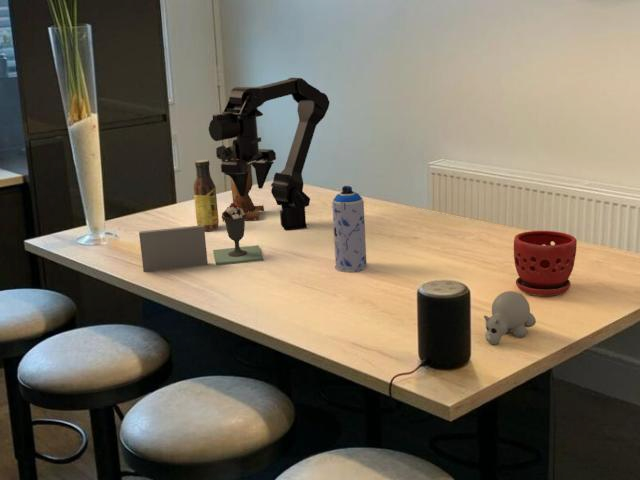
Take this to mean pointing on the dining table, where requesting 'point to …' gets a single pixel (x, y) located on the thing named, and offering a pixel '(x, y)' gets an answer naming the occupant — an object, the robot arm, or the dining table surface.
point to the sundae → (235, 226)
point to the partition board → (173, 248)
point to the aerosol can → (349, 231)
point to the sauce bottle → (205, 197)
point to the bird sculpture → (246, 199)
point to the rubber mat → (252, 255)
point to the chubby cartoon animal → (508, 317)
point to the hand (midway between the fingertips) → (251, 192)
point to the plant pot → (544, 262)
